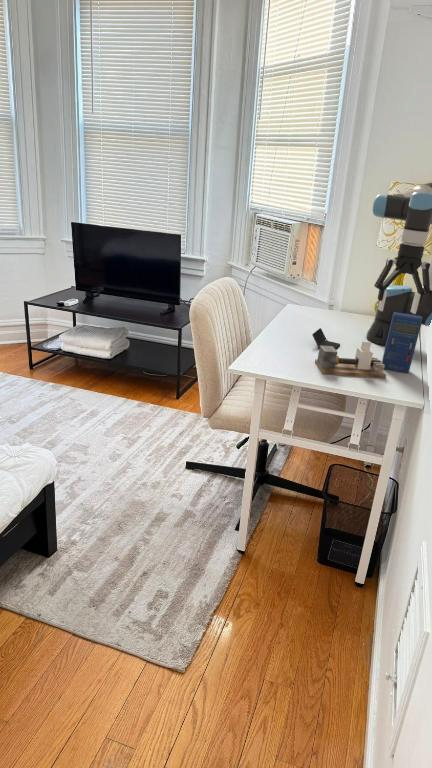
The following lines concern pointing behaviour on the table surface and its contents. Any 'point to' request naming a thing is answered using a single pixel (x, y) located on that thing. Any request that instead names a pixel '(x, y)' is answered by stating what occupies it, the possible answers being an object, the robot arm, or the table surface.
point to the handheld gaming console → (323, 340)
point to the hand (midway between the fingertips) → (396, 311)
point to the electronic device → (401, 342)
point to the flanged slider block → (364, 355)
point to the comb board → (346, 365)
